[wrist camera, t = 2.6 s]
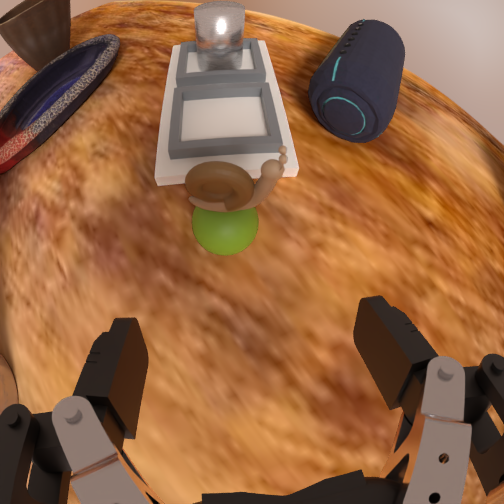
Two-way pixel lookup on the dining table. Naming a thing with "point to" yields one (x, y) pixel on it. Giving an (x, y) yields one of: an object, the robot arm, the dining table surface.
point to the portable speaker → (359, 82)
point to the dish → (53, 97)
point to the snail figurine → (229, 202)
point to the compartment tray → (221, 115)
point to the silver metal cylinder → (219, 35)
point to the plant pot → (38, 30)
